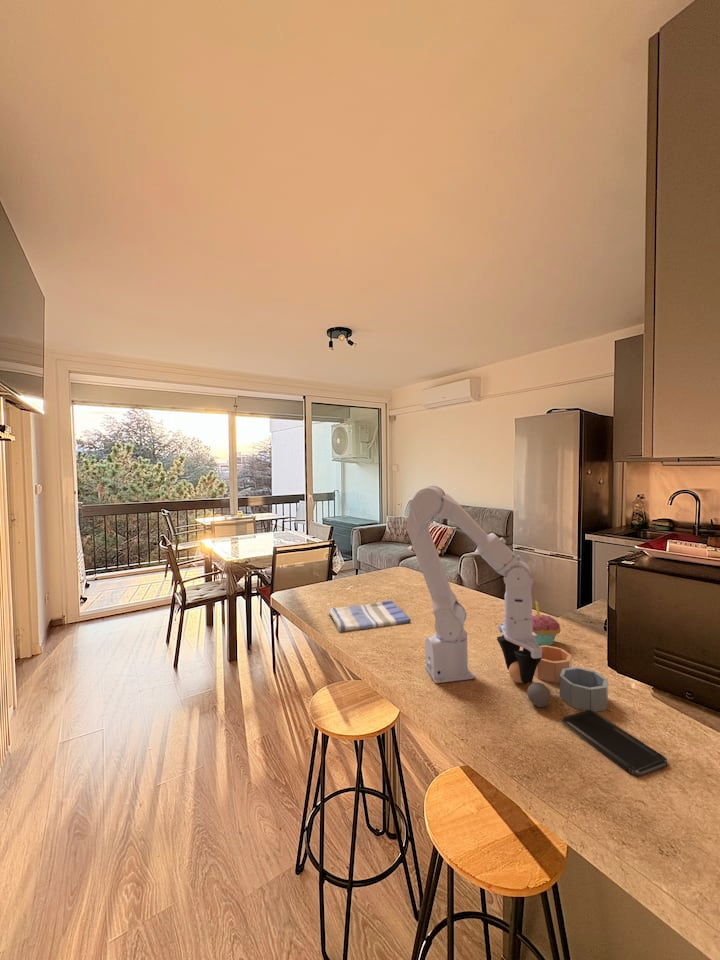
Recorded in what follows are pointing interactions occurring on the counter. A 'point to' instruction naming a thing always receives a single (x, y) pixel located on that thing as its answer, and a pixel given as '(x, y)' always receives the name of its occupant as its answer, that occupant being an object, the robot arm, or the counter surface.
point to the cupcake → (544, 628)
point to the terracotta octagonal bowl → (552, 663)
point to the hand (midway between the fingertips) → (519, 675)
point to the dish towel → (368, 616)
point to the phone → (615, 743)
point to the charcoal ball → (539, 694)
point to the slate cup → (584, 689)
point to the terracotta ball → (515, 672)
